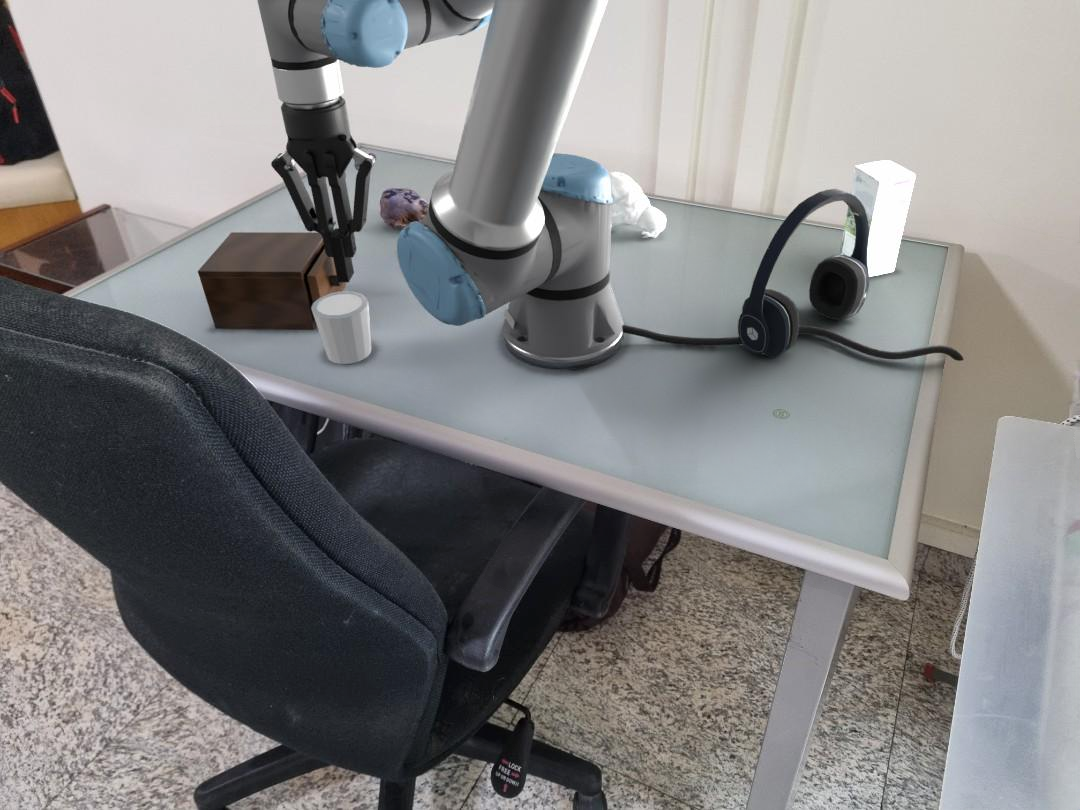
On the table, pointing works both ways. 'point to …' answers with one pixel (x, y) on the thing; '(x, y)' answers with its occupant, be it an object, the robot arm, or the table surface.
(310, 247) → the cabinet
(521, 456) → the table surface
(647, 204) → the white figurine
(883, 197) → the syrup box
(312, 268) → the drawer
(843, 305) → the headphones
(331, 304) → the shot glass
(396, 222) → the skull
